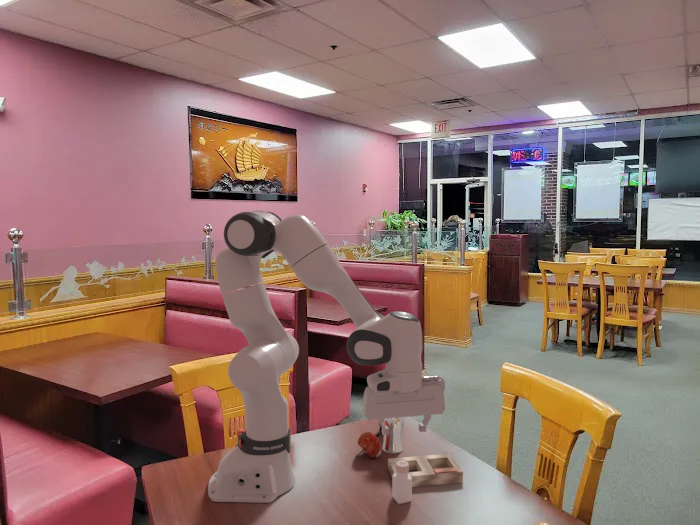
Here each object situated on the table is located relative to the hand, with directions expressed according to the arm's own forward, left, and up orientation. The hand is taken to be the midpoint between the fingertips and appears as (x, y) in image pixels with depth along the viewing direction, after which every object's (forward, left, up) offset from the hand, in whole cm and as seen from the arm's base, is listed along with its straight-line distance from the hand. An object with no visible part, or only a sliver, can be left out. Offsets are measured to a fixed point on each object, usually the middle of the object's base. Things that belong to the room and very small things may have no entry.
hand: (404, 432), depth 127 cm
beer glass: (+4, +26, -18) cm, 32 cm away
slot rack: (+9, +10, -18) cm, 22 cm away
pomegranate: (-4, +23, -18) cm, 29 cm away
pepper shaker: (0, 0, -18) cm, 18 cm away
